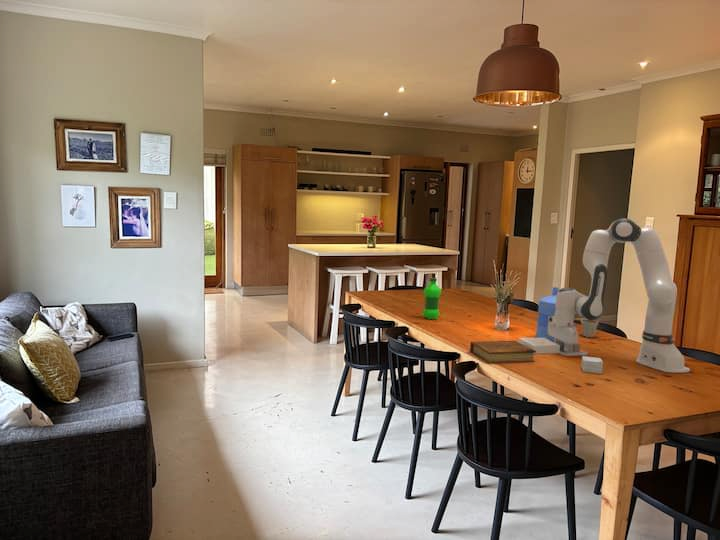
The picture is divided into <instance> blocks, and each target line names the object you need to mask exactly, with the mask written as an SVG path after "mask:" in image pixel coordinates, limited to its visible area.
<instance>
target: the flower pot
mask: <svg viewBox="0 0 720 540" xmlns="http://www.w3.org/2000/svg"><path fill="white" fill-rule="evenodd" d="M599 323H600V321H597V320H588V319H586V318H585V319H580V324H581V335H583V336H582V337H584V336H585V337H584V338H589V337H590V338H592V337H593V338H595V335H596V332H597V327H598V325H599Z"/></svg>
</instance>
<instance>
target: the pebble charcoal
mask: <svg viewBox="0 0 720 540" xmlns="http://www.w3.org/2000/svg"><path fill="white" fill-rule="evenodd" d="M557 344H559V345H560V351H561V352H566V351H563V347H564V346H565V344H564V343H563V342H557Z"/></svg>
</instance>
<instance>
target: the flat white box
mask: <svg viewBox="0 0 720 540" xmlns="http://www.w3.org/2000/svg"><path fill="white" fill-rule="evenodd" d="M517 342H519V343H521V344H523V345H525V346H527V347H529V348H531V349H533V350H535V351H536V353H534V354H535V355H536V354H537V355H538V354H544V355H545V354H547V355H548V354H560V353H559V351H560V345H559V344H557V343H555V342H552V341H550V340H548V339H546V338H537V337H518V341H517ZM534 354H533V355H534Z"/></svg>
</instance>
